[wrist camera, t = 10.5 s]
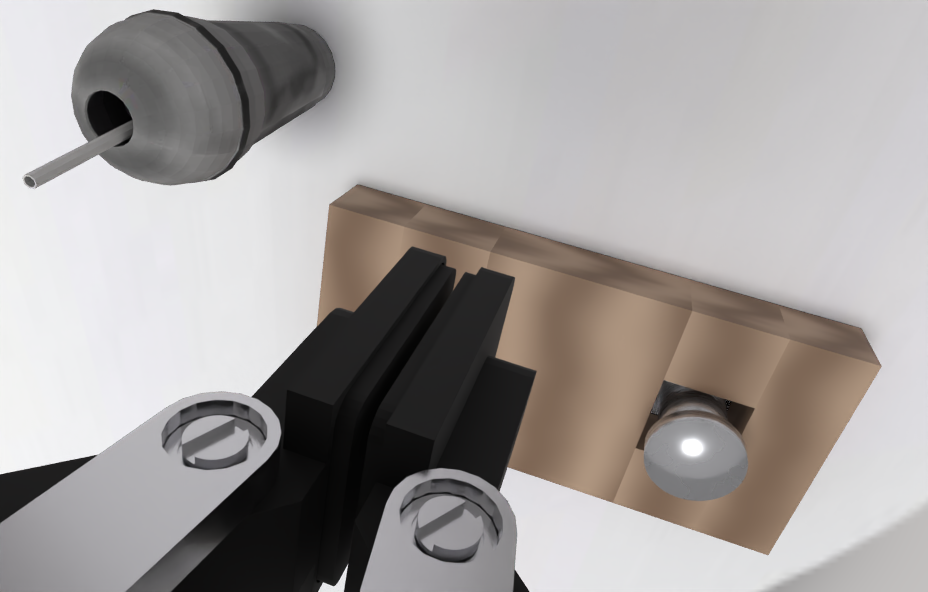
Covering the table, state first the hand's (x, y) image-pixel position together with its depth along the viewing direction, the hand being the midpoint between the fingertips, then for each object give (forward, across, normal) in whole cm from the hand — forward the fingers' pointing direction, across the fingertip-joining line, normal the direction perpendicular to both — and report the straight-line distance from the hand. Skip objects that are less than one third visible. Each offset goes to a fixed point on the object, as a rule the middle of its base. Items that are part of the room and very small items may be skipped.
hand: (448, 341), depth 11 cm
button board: (+28, -2, +17) cm, 33 cm away
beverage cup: (+28, +17, +4) cm, 33 cm away
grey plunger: (+27, -10, +17) cm, 34 cm away
